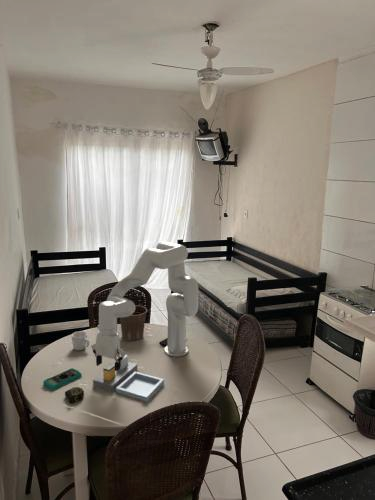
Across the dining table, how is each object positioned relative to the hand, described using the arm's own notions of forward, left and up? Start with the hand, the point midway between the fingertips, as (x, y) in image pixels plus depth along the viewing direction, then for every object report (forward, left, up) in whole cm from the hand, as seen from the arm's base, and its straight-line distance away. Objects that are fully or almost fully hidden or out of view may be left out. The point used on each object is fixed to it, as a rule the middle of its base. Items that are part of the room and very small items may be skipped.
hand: (108, 367), depth 160 cm
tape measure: (+15, -6, -9) cm, 19 cm away
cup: (-22, -33, -9) cm, 40 cm away
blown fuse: (-1, 0, -8) cm, 8 cm away
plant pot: (-47, -17, -9) cm, 50 cm away
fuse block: (-6, 0, -9) cm, 10 cm away
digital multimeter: (+7, -20, -9) cm, 23 cm away
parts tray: (-4, +14, -9) cm, 17 cm away
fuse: (-11, 0, -8) cm, 13 cm away
